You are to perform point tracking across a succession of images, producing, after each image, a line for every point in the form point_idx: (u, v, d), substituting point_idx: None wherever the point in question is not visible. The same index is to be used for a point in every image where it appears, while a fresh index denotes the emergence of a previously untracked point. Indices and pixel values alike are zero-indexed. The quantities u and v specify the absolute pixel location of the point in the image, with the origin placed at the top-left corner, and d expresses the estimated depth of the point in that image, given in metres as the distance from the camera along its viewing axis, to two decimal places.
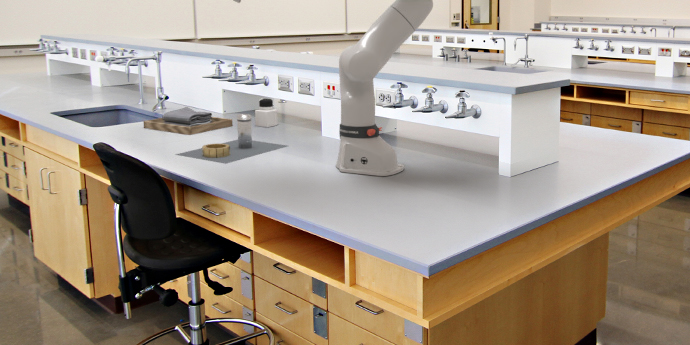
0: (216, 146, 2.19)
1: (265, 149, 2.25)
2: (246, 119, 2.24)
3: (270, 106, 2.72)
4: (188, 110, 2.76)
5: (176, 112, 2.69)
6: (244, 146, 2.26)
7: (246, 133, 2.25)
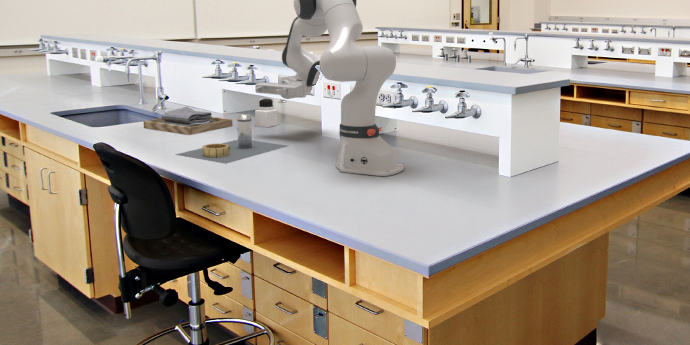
0: (216, 146, 2.19)
1: (265, 149, 2.25)
2: (246, 119, 2.24)
3: (270, 106, 2.72)
4: (188, 110, 2.77)
5: (176, 112, 2.70)
6: (244, 146, 2.26)
7: (246, 133, 2.25)
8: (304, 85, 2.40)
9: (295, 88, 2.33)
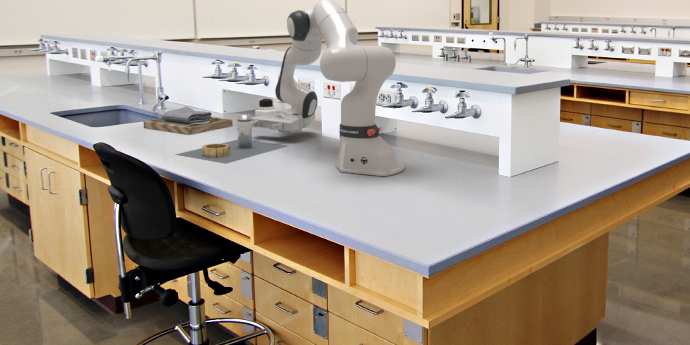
0: (216, 146, 2.19)
1: (265, 149, 2.25)
2: (246, 119, 2.24)
3: (270, 106, 2.72)
4: (188, 110, 2.77)
5: (176, 111, 2.70)
6: (244, 146, 2.26)
7: (246, 133, 2.25)
8: (300, 119, 2.40)
9: (291, 123, 2.33)
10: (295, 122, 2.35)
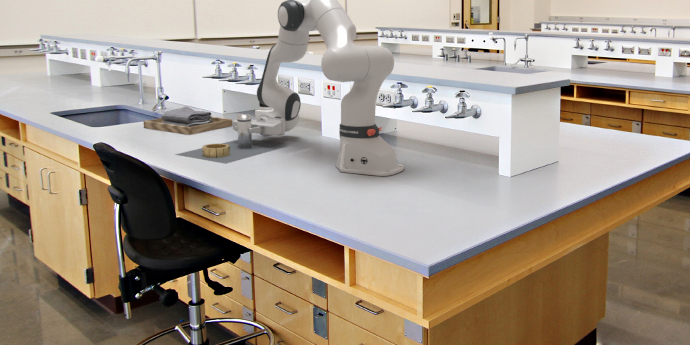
0: (216, 146, 2.19)
1: (265, 149, 2.25)
2: (246, 119, 2.23)
3: None
4: (188, 109, 2.77)
5: (175, 111, 2.71)
6: (244, 146, 2.26)
7: (246, 133, 2.25)
8: (283, 123, 2.31)
9: (273, 127, 2.25)
10: (277, 126, 2.27)
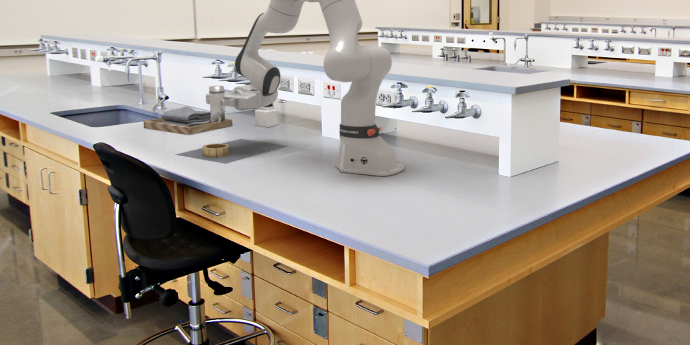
0: (216, 146, 2.19)
1: (265, 149, 2.25)
2: (218, 91, 2.10)
3: (270, 106, 2.72)
4: (188, 109, 2.78)
5: (176, 111, 2.71)
6: (216, 119, 2.12)
7: (219, 105, 2.11)
8: (258, 95, 2.18)
9: (247, 99, 2.11)
10: (252, 98, 2.13)
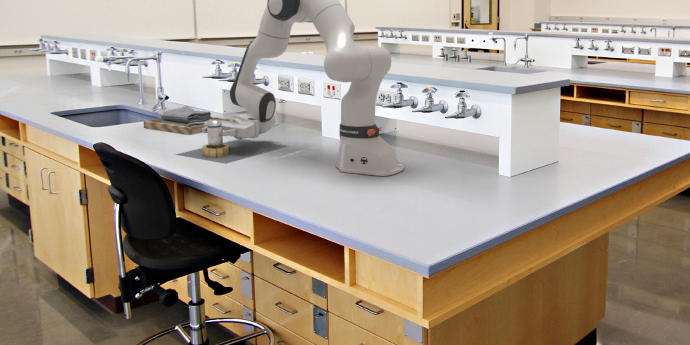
0: None
1: (265, 149, 2.25)
2: (216, 125, 2.11)
3: None
4: (188, 109, 2.79)
5: (175, 111, 2.72)
6: None
7: (217, 139, 2.12)
8: (256, 125, 2.19)
9: (245, 129, 2.12)
10: (250, 128, 2.14)
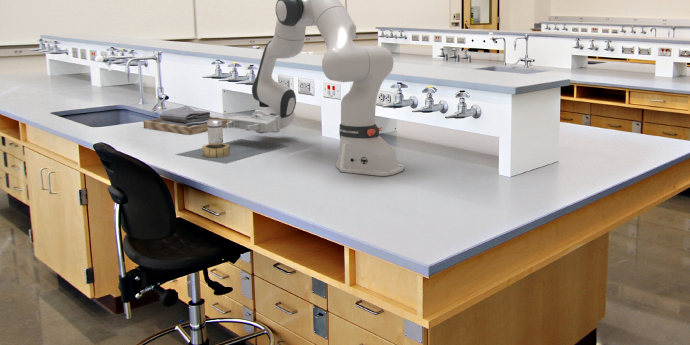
0: None
1: (265, 149, 2.25)
2: (217, 125, 2.11)
3: None
4: (187, 109, 2.79)
5: (174, 111, 2.72)
6: None
7: (217, 139, 2.12)
8: (278, 120, 2.29)
9: (267, 124, 2.22)
10: (272, 123, 2.24)
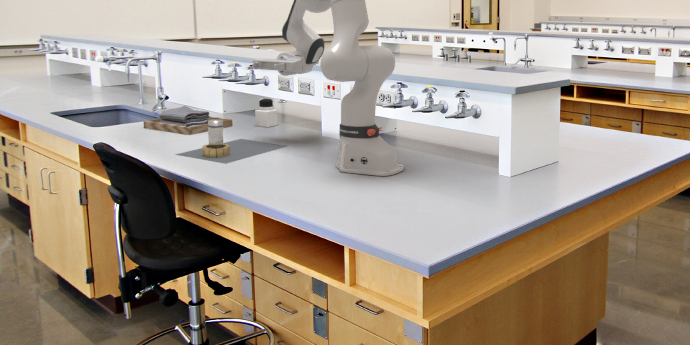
0: None
1: (265, 149, 2.25)
2: (217, 125, 2.11)
3: (270, 106, 2.72)
4: (186, 109, 2.79)
5: (173, 111, 2.72)
6: None
7: (217, 139, 2.13)
8: (303, 61, 2.30)
9: (294, 63, 2.24)
10: (298, 62, 2.26)
